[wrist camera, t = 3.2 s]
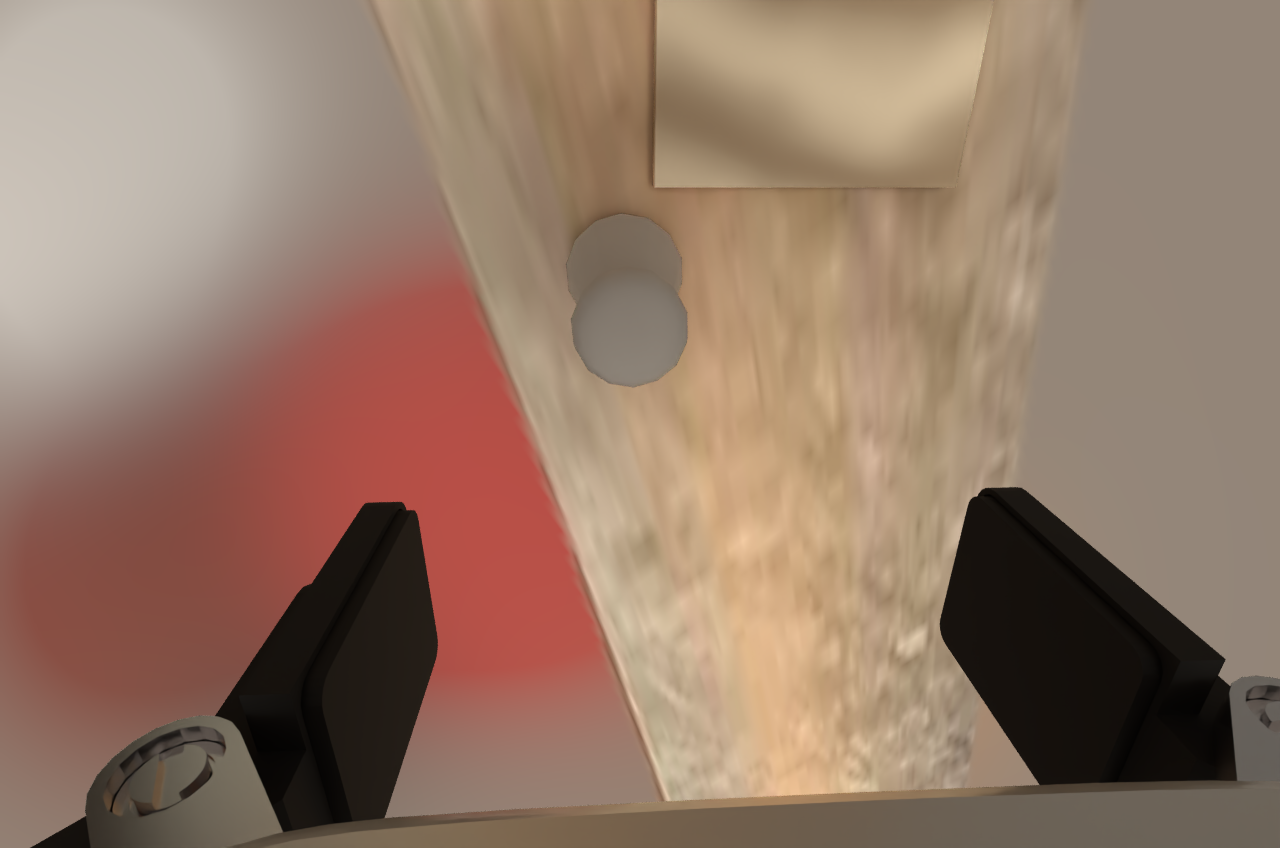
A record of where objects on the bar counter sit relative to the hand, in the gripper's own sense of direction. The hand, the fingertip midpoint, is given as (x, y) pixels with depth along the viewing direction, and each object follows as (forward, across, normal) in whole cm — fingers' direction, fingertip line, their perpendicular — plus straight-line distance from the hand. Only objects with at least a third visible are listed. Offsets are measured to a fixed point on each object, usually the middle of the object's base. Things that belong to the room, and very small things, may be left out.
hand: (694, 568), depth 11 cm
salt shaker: (+26, 0, 0) cm, 26 cm away
